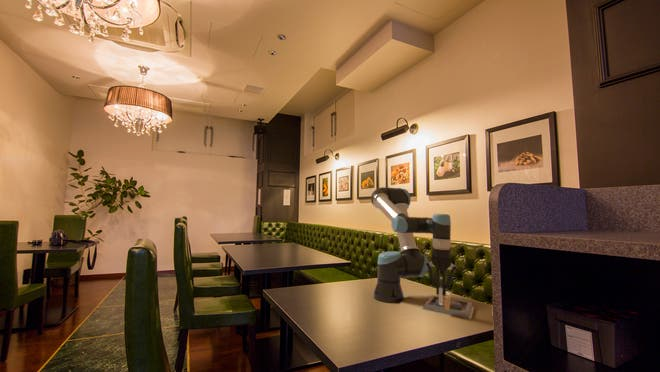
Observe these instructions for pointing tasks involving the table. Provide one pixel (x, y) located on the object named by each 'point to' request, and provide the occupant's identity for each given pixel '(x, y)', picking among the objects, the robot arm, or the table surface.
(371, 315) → the table surface
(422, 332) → the table surface
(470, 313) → the grey rectangular tray
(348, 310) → the table surface
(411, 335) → the table surface
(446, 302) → the grey dome with handle
